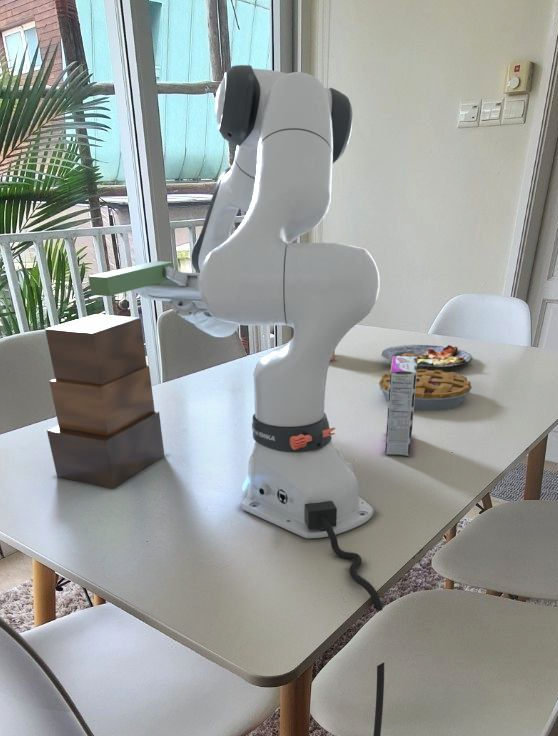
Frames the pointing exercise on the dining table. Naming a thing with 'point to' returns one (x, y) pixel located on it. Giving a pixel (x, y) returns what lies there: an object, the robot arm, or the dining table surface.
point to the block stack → (102, 401)
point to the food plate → (430, 355)
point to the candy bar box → (401, 405)
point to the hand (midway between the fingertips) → (154, 270)
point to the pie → (434, 389)
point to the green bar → (128, 278)
